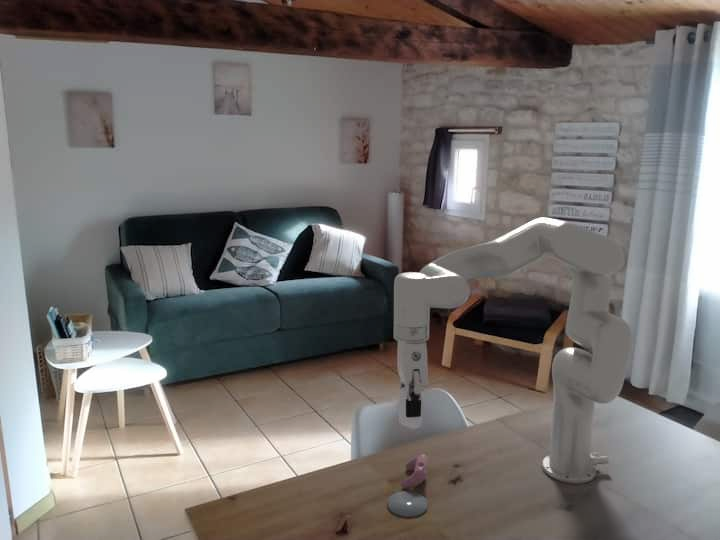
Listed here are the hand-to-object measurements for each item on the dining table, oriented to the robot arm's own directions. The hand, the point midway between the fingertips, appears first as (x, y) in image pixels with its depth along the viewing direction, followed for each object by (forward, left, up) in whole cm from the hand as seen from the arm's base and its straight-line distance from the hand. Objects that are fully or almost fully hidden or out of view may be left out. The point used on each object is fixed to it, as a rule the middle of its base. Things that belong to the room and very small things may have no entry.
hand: (410, 409), depth 132 cm
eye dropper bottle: (0, 0, -4) cm, 4 cm away
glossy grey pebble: (0, 0, -23) cm, 23 cm away
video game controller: (-4, -10, -24) cm, 26 cm away
